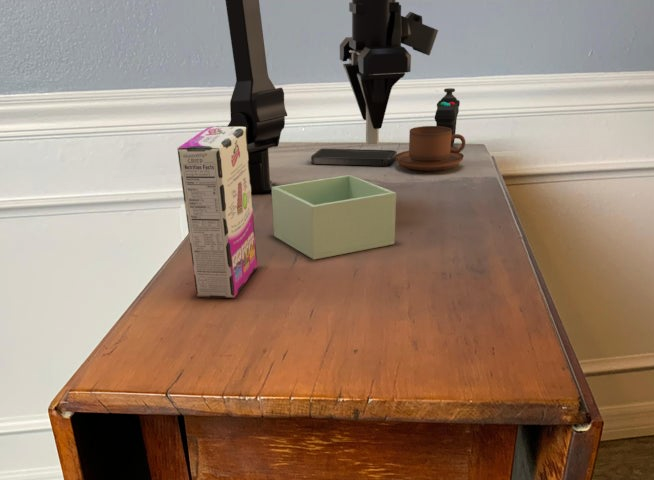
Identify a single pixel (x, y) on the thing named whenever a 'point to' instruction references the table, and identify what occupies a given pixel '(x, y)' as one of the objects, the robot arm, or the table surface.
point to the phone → (354, 157)
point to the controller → (447, 111)
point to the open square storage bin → (334, 216)
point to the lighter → (371, 131)
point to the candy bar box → (219, 210)
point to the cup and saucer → (431, 149)
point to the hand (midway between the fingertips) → (372, 124)
